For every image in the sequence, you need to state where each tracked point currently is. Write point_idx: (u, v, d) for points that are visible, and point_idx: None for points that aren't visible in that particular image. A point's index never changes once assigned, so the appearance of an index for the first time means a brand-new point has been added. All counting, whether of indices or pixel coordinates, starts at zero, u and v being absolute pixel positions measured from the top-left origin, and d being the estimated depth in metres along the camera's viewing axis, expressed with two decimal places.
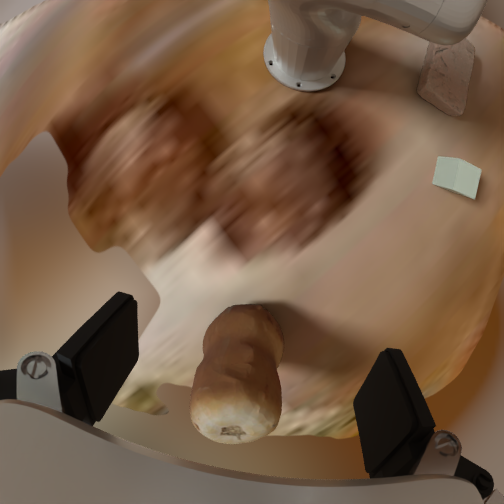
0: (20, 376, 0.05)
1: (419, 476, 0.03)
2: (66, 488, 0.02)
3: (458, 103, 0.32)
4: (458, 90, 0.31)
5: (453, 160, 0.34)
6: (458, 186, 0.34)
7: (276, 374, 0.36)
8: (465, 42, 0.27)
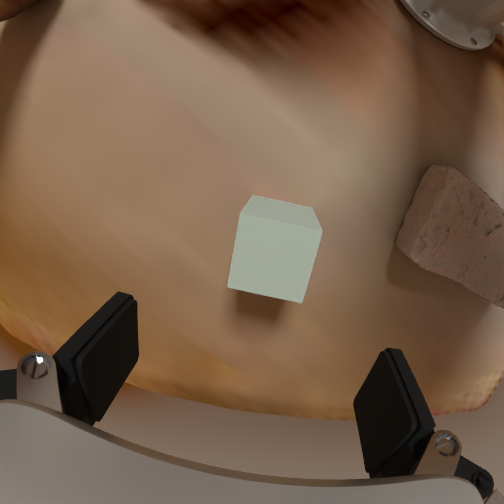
0: (20, 376, 0.05)
1: (419, 476, 0.03)
2: (66, 488, 0.02)
3: (431, 250, 0.19)
4: (452, 254, 0.19)
5: (313, 222, 0.18)
6: (250, 231, 0.17)
7: None
8: None
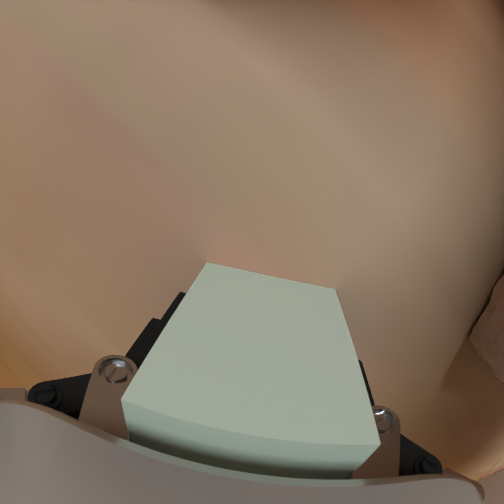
0: (100, 381, 0.06)
1: (419, 476, 0.03)
2: (66, 488, 0.02)
3: None
4: None
5: (350, 386, 0.06)
6: (162, 438, 0.05)
7: None
8: None
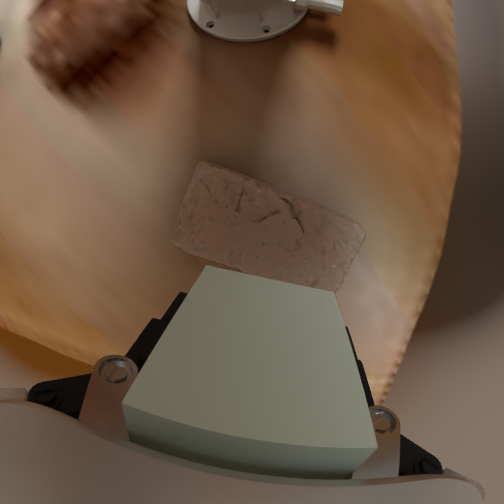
0: (100, 382, 0.06)
1: (419, 476, 0.03)
2: (66, 488, 0.02)
3: (188, 236, 0.25)
4: (214, 240, 0.25)
5: (348, 389, 0.06)
6: (162, 441, 0.05)
7: None
8: (330, 281, 0.26)
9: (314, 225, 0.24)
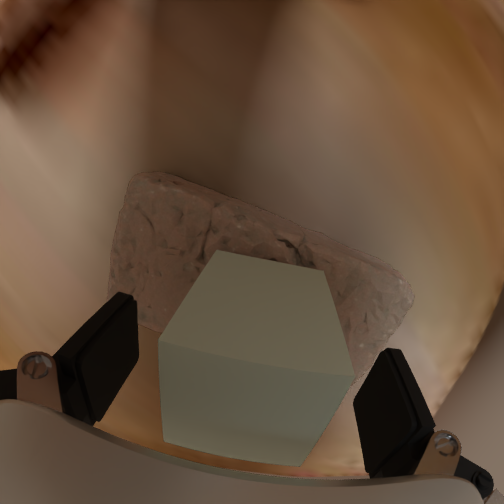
0: (20, 376, 0.05)
1: (419, 476, 0.03)
2: (66, 488, 0.02)
3: None
4: (167, 306, 0.15)
5: (331, 336, 0.08)
6: (187, 375, 0.07)
7: None
8: (353, 366, 0.15)
9: (335, 287, 0.14)
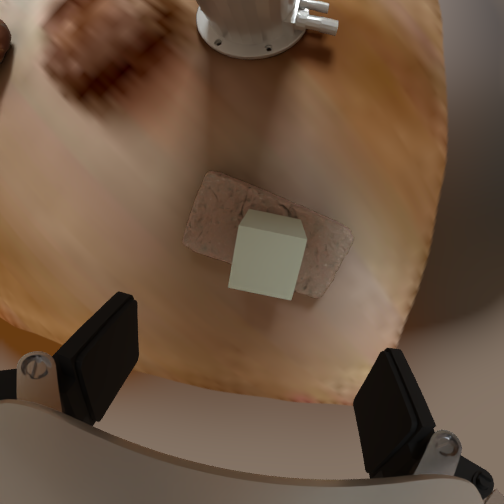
0: (20, 376, 0.05)
1: (419, 476, 0.03)
2: (66, 488, 0.02)
3: (197, 237, 0.29)
4: (220, 241, 0.29)
5: (300, 232, 0.22)
6: (247, 240, 0.21)
7: None
8: (322, 278, 0.29)
9: (308, 229, 0.28)
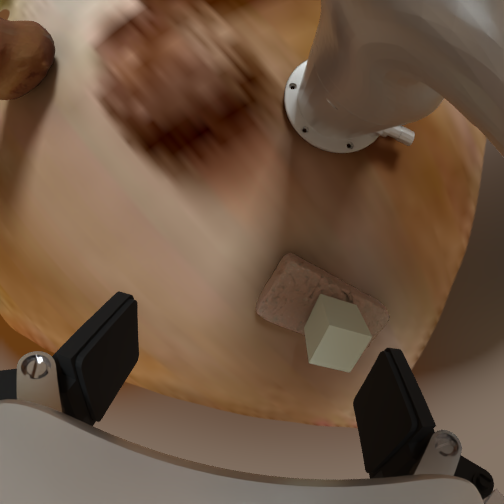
0: (20, 376, 0.05)
1: (419, 476, 0.03)
2: (66, 488, 0.02)
3: (271, 310, 0.34)
4: (290, 314, 0.34)
5: (364, 327, 0.28)
6: (332, 334, 0.27)
7: None
8: None
9: (359, 310, 0.34)
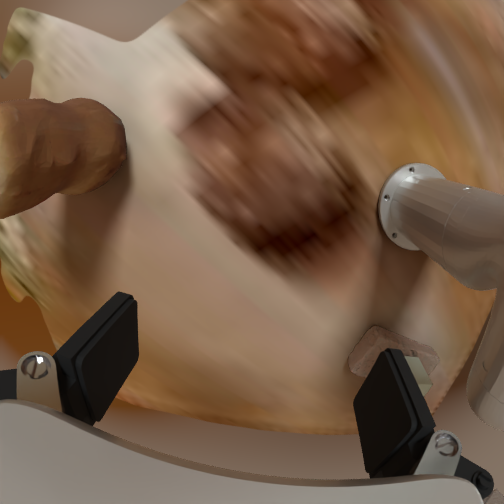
0: (20, 376, 0.05)
1: (419, 476, 0.03)
2: (66, 488, 0.02)
3: (362, 369, 0.41)
4: None
5: (427, 377, 0.35)
6: None
7: (46, 197, 0.24)
8: None
9: (420, 360, 0.41)
